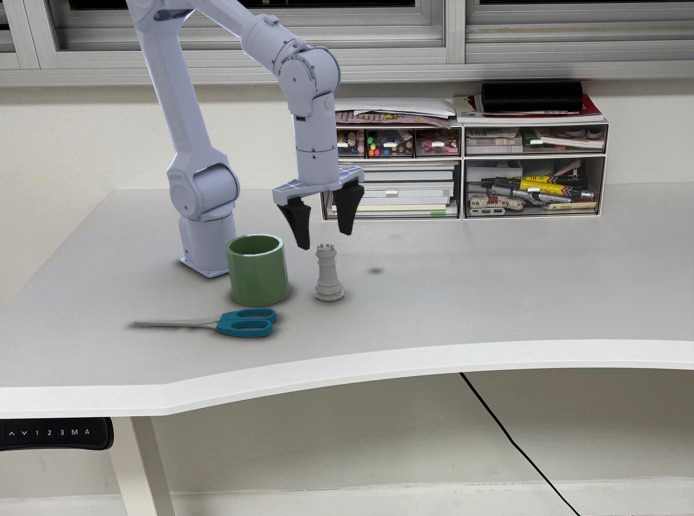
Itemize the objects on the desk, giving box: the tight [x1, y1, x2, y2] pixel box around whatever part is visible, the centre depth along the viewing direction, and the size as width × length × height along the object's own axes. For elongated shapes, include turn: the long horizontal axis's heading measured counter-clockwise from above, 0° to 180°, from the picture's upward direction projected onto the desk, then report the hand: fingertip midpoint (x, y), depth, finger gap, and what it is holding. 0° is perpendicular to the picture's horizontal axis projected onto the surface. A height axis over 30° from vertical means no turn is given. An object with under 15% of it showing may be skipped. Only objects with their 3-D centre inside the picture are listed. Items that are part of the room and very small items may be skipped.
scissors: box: [133, 307, 278, 338], centre depth 112 cm, size 7×1×20 cm
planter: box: [225, 233, 290, 307], centre depth 119 cm, size 8×8×8 cm
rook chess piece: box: [314, 242, 345, 303], centre depth 118 cm, size 4×4×8 cm
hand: (325, 240), depth 115 cm, fingers open, 7 cm apart
